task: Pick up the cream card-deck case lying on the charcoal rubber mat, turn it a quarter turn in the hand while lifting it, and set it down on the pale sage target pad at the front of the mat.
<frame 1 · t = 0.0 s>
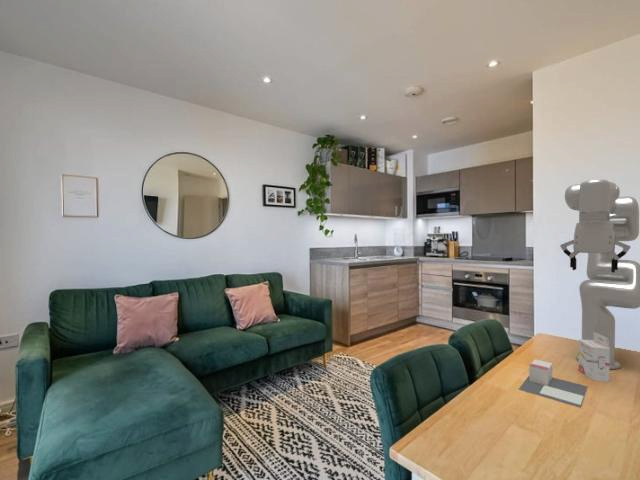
hand: (593, 270, 104), 37 cm above the table, tool pointing down, fingers open, 9 cm apart
card deck case: (540, 379, 105), point 1 cm above the table, touching mat
mat: (553, 389, 99), on the table
ink cartridge box: (593, 378, 108), on the table
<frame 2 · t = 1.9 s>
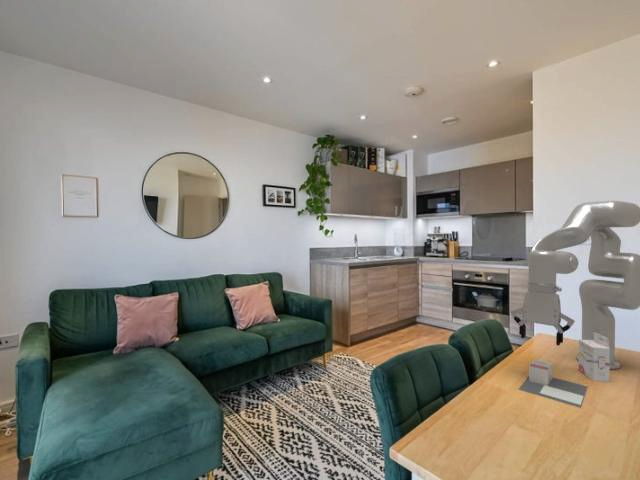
hand: (540, 340, 105), 14 cm above the table, tool pointing down, fingers open, 9 cm apart
nothing on the table moved.
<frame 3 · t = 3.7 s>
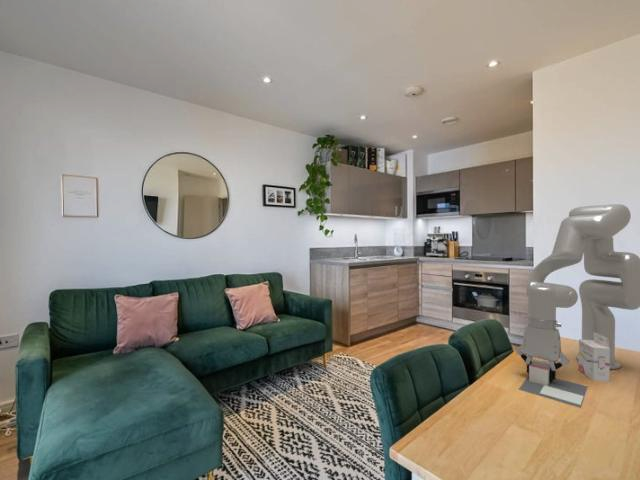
hand: (540, 377, 105), 1 cm above the table, tool pointing down, fingers closed on card deck case, 5 cm apart
card deck case: (540, 379, 105), point 1 cm above the table, touching gripper, mat
everything else where it was.
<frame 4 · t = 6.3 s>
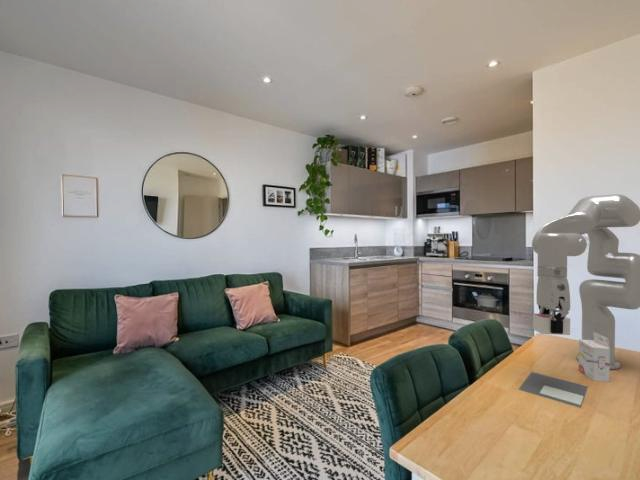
hand: (551, 329, 100), 19 cm above the table, tool pointing down, fingers closed on card deck case, 5 cm apart
card deck case: (550, 331, 100), point 18 cm above the table, touching gripper
everything else where it was.
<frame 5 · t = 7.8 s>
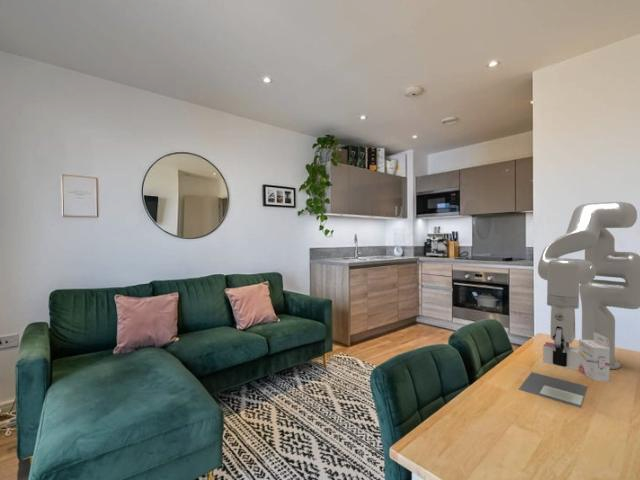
hand: (561, 362, 94), 11 cm above the table, tool pointing down, fingers closed on card deck case, 5 cm apart
card deck case: (561, 364, 94), point 10 cm above the table, touching gripper
everything else where it was.
when the fingers open (3 cm above the table, at t = 9.2 s): card deck case drops 1 cm, resting on mat.
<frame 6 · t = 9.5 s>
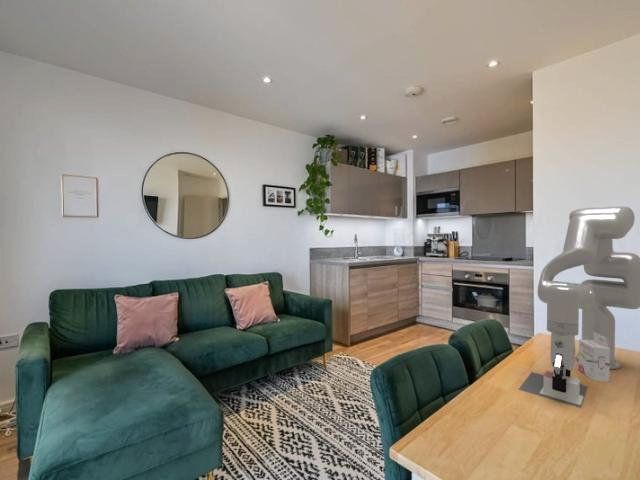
hand: (561, 385, 95), 3 cm above the table, tool pointing down, fingers open, 7 cm apart
card deck case: (561, 394, 95), point 1 cm above the table, touching mat
everything else where it was.
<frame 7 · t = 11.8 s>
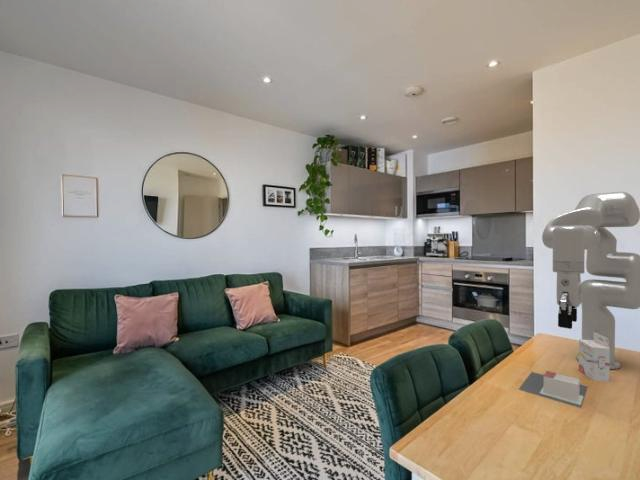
hand: (567, 324, 96), 22 cm above the table, tool pointing down, fingers open, 9 cm apart
nothing on the table moved.
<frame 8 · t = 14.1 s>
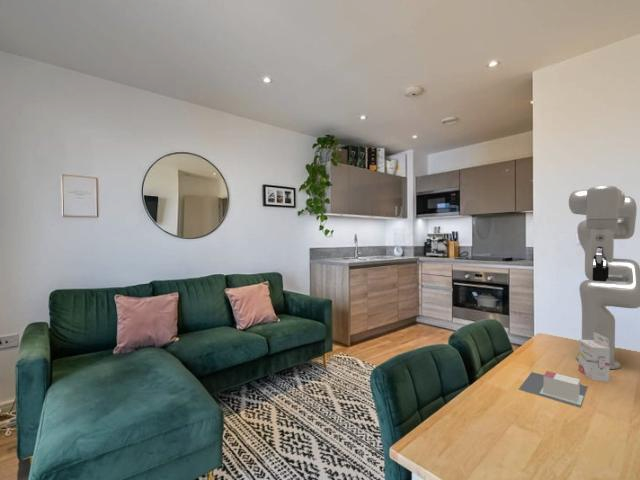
hand: (600, 279, 101), 34 cm above the table, tool pointing down, fingers open, 9 cm apart
nothing on the table moved.
at the end: card deck case 0.0 cm from the target spot on the mat, point 0.8 cm above the mat's base; card deck case tilted 0°; the gripper is holding nothing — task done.
